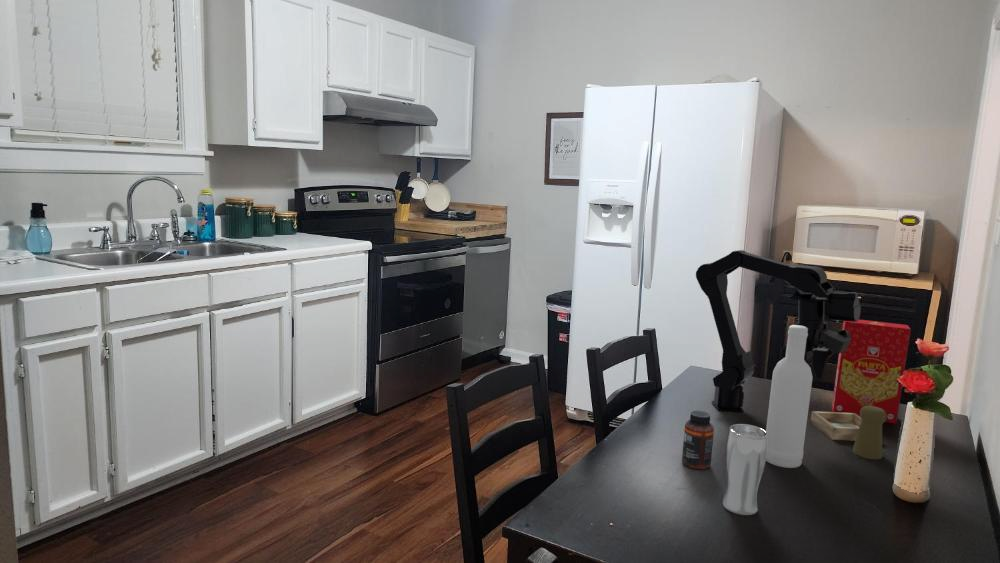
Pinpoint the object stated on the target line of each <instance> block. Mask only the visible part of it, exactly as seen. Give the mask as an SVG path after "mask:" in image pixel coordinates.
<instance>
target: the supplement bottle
mask: <svg viewBox="0 0 1000 563" xmlns="http://www.w3.org/2000/svg"><path fill="white" fill-rule="evenodd" d="M683 431H684V432H683V444H682V455H681V457H682V458H681V461H682V464H683V465H685V466H686V467H687V468H690V469H694V470H707V469H708V468H710V467H711V465H712V464H711V463H712V455H713V454H712V453H713V445H714V444H713V443H714V435H715V434H714V431H715V429H714V425H713V424H712V423H711V414H710V413H708V412H706V411H704V410H693V411H691V412H690V417H689V420H687V421H686V422H685V424H684V430H683Z"/></svg>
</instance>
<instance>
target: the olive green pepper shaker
mask: <svg viewBox="0 0 1000 563" xmlns="http://www.w3.org/2000/svg"><path fill="white" fill-rule="evenodd" d="M860 418H861V419H862V421H861V424H860V427H859V431H858V434H857V437H856V440H855V441H854V443H853V447H852V452H853V454H855V455H856V456H858V457H861V458H864V459H867V460H880V459H882V458H883V424H884V423H886V422H885V420H886V413H885V411H884V410H883V409H881V408H879V407H875V406H864V407H863V408H862V409H861V410H860Z"/></svg>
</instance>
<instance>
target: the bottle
mask: <svg viewBox="0 0 1000 563" xmlns="http://www.w3.org/2000/svg"><path fill="white" fill-rule="evenodd" d="M807 336H808V329H807V328H806V327H805V326H800V325H795V324H791V325H790V326H789V327H788V331H787V343H786V345H787V349H786V357H785V358H784V357H782V359H781V360H779V361H778V362H777V363H776V365H775V367H774V368H773V370H772V378H771V386H770V395H769V402H768V403H769V404H768V412H767V419H766V428H765V431H766V432H767V433H768V438H767V457H766V462H767V463H769V464H771V465H773V466H776V467H779V468H786V469H787V468H788V469H794V468H795V469H797V468H799V467H801V465H802V462H803V458H804V447H805V439H806V431H807V423H808V415H809V409H810V400H811V393H812V392H811V391H812V385H813V374H812V368H811V367H810V364H807V363H806V362H805V361H804V355H805V347H806V339H807Z"/></svg>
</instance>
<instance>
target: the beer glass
mask: <svg viewBox="0 0 1000 563" xmlns="http://www.w3.org/2000/svg"><path fill="white" fill-rule="evenodd" d="M767 438H768V433H767V432H766V429H763V428H761V427H758V426H756V425H752V424H747V423H735V424H732V425H731V426H730V427H729V431H728V437H727V440H726V441H727V442H726V448H725V449H726V450H725V468H726V469H725V470H726V481H727V482H726V490H725V493H724V497H723V500H722V505H723V507H724V508H725V509H726V511H727V510H728V511H729V512H731V513H734V514H736V515H741V516H752V515H753V516H754V515H755V514H757V512H758V489H759V485H760V482H761V479H762V477H763V473H764V470H765V466H766V462H767V461H766V457H767Z"/></svg>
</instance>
